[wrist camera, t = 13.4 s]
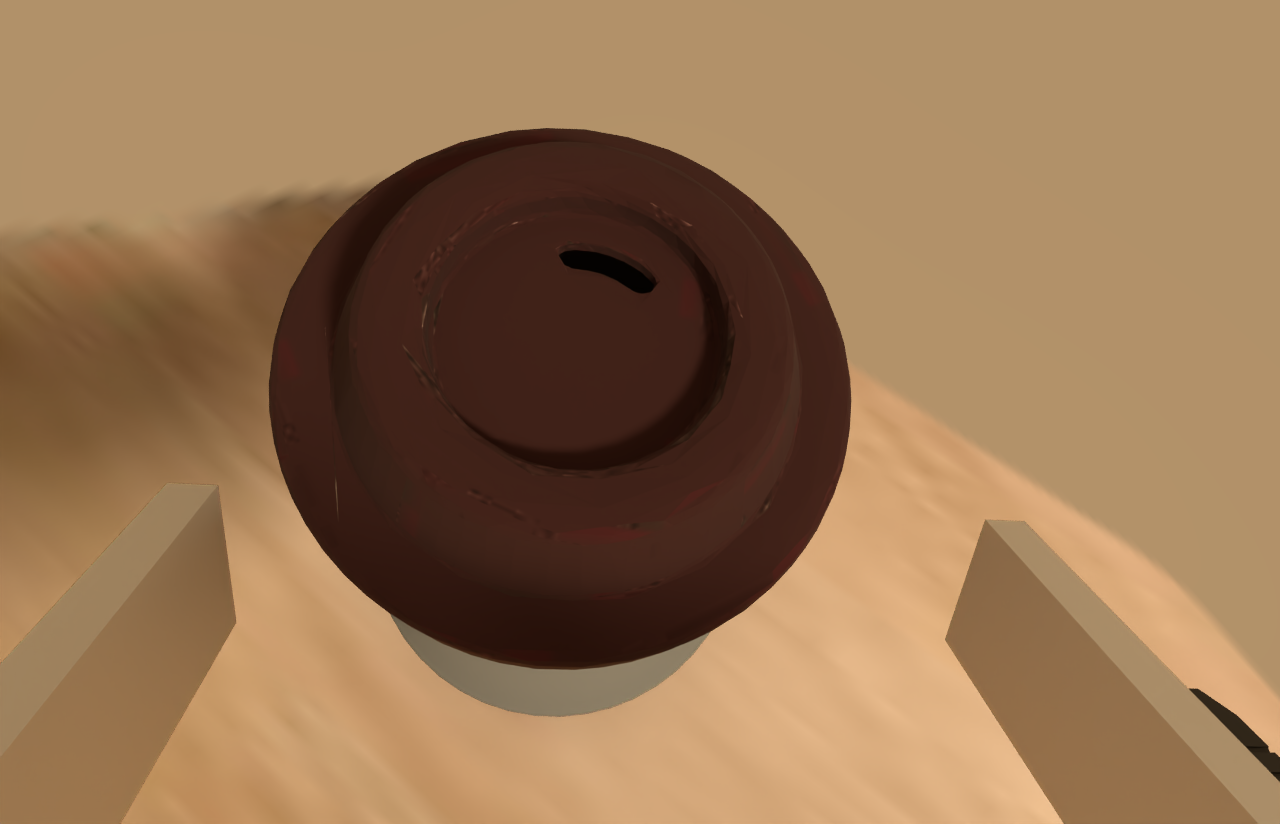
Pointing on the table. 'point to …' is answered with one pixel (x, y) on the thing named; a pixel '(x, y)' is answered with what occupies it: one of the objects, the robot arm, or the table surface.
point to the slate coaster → (546, 678)
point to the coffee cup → (559, 398)
